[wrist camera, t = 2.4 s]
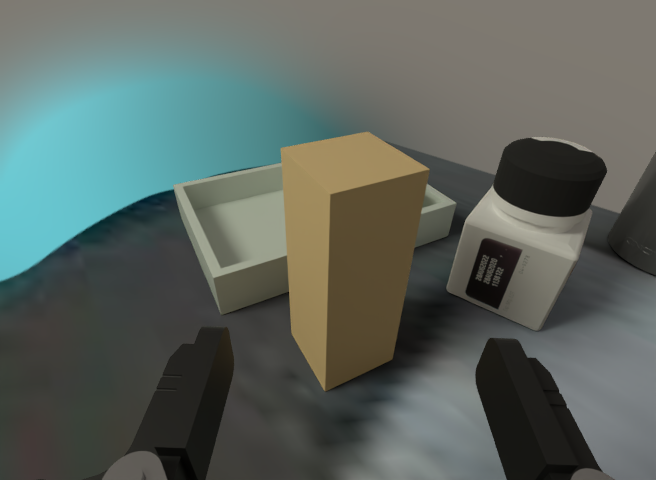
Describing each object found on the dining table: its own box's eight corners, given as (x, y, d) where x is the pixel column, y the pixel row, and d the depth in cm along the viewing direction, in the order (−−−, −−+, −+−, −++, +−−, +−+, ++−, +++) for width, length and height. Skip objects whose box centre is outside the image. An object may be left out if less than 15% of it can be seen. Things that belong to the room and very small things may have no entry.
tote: (365, 173, 51) (367, 145, 49) (448, 236, 40) (456, 203, 37) (181, 217, 42) (173, 184, 39) (221, 315, 30) (213, 278, 28)
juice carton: (353, 309, 31) (367, 131, 22) (392, 359, 27) (429, 169, 18) (291, 333, 29) (280, 148, 20) (325, 391, 25) (330, 194, 16)
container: (538, 334, 29) (618, 186, 22) (443, 292, 33) (483, 151, 25) (557, 280, 34) (627, 144, 27) (473, 249, 38) (513, 120, 30)
